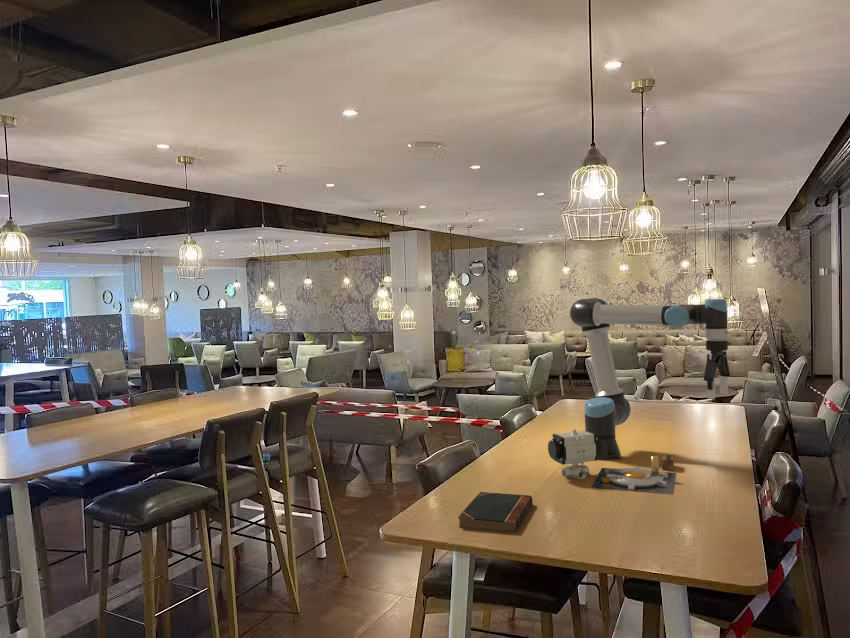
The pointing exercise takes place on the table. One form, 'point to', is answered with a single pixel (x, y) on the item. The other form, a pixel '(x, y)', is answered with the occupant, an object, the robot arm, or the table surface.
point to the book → (496, 511)
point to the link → (668, 462)
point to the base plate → (656, 489)
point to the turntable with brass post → (637, 476)
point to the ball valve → (574, 451)
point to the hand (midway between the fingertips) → (717, 395)
